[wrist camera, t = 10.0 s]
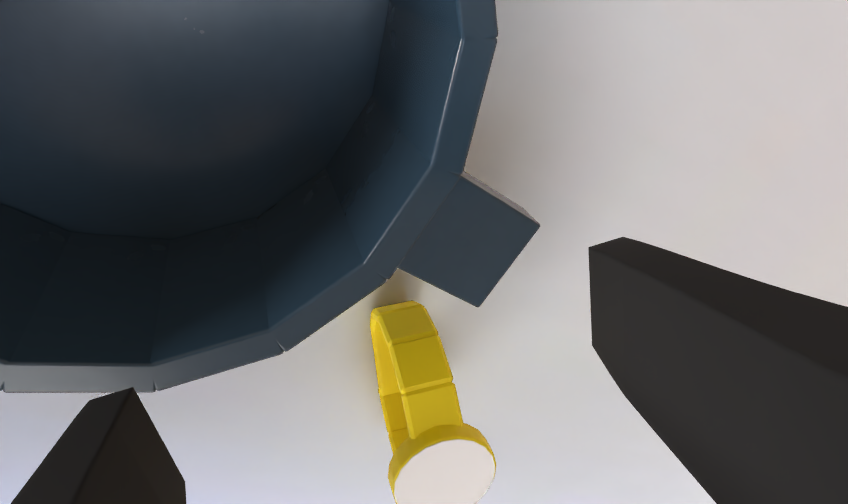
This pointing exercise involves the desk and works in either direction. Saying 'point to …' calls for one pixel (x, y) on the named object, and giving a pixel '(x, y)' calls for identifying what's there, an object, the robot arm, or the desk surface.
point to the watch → (425, 413)
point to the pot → (231, 178)
